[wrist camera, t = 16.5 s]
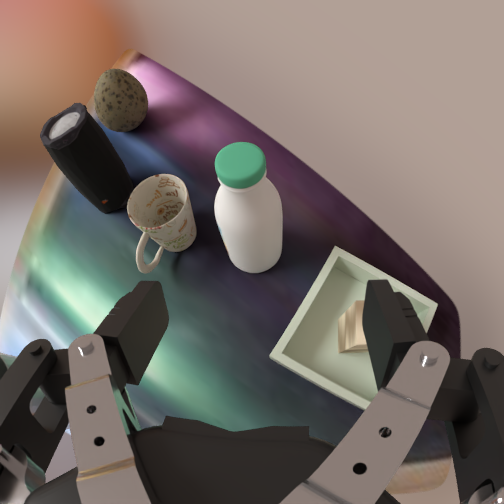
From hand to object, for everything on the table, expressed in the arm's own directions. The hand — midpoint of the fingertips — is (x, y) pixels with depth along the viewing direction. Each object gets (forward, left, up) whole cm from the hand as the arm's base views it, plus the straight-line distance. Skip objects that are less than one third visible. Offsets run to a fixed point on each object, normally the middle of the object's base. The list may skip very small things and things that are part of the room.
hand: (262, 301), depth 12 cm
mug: (+6, +21, -30) cm, 37 cm away
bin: (+8, -8, -30) cm, 32 cm away
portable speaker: (+8, +37, -30) cm, 48 cm away
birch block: (+8, -8, -29) cm, 31 cm away
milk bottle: (+12, +10, -30) cm, 34 cm away
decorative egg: (+23, +48, -30) cm, 61 cm away
